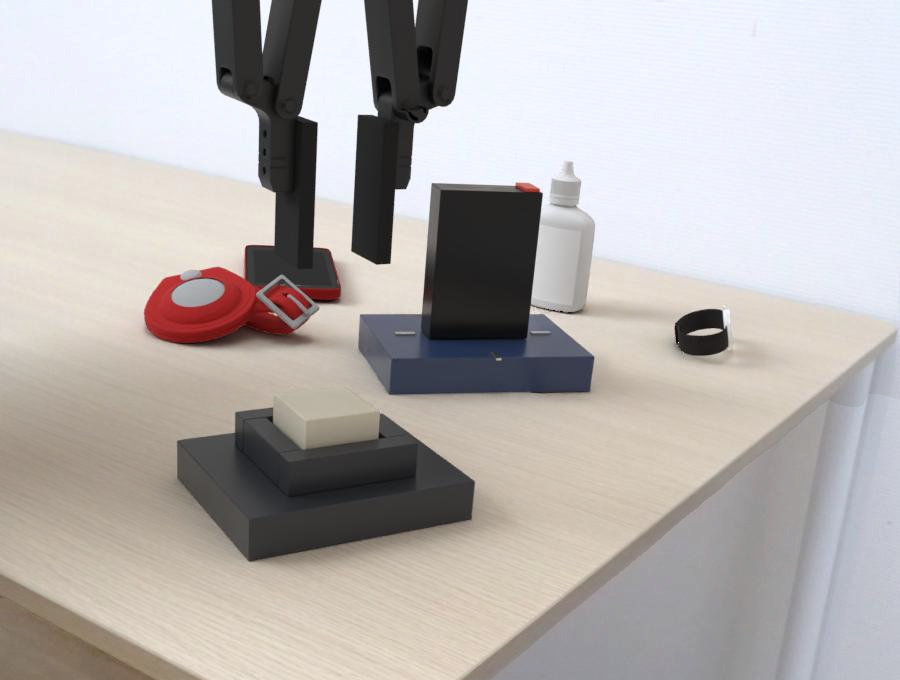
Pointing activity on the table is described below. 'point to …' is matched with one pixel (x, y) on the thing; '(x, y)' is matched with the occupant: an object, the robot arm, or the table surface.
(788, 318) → the table surface
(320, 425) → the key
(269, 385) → the table surface
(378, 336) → the navy base plate
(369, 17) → the robot arm
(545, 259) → the eye dropper bottle
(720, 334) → the watch
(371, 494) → the stepped push button
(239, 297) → the tracker holder
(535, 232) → the black upright rectangular block
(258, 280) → the cell phone
